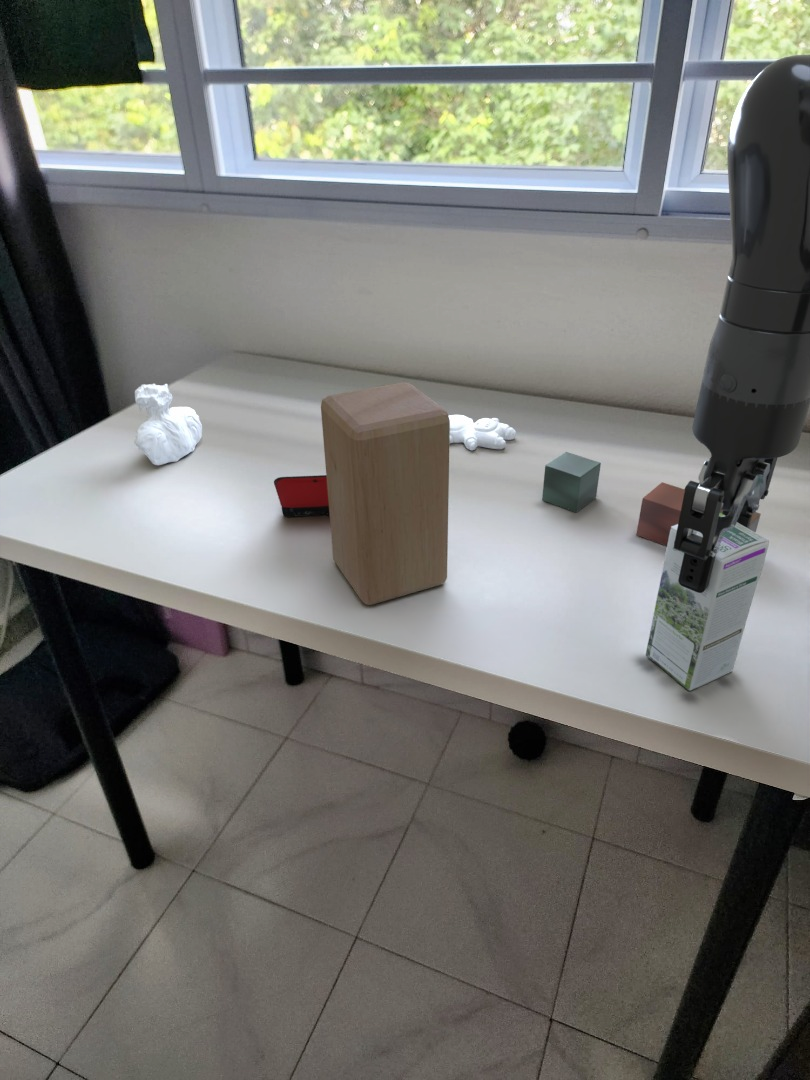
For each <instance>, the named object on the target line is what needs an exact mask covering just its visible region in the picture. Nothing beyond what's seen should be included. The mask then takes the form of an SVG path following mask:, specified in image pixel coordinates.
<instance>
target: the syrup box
mask: <svg viewBox="0 0 810 1080" xmlns="http://www.w3.org/2000/svg"><path fill="white" fill-rule="evenodd" d="M719 516H720V517H725V515H723V514H722V513H720V514H719ZM677 528H678V524H677V525H674V526H671V530H670V534H669V539H668V544H667V546H666V550H665V554H664V560H663V566H662V571H661V575H660V581H659V585H658V589H657V590H658V591H657V594H656V600H655V605H654V610H653V616H652V622H651V626H650V631H649V635H648V636H649V637H648V642H647V646H646V651H645V656H646V657H647V658H648V659H650V660H651V661H652V663H654V664H656V665H657V666H658V667H660V669H662V670H663V671H664V672H666V673H667V674H668V675H669V676H670V677H671V678H673V679H675V681H676V682H677V683H679V684H680V685H681V686H682V687H684V688H685V689H686V690H687V691H693V690H695V689H698V688H701V687H703V686H705V685H706V684H709V683H711V682H713V681H715V680H717V679H720V678H722V677H723V676H725V675H728V674H729V673H732V672H733V671H734V669H735V665H736V662H737V658H738V653H739V649H740V645H741V641H742V638H743V634H744V631H745V627H746V624H747V620H748V617H749V615H750V610H751V607H752V603H753V600H754V597H755V593H756V590H757V587H758V583H759V580H760V578H761V577H760V576H761V573H762V570H763V567H764V563H765V560H766V557H767V553H768V549H769V545H770V539H768V538H766V537H764V536H762V535H761V534H759V533H757V532H756V533H755V532H753V531H752V530H750V529H748V528H747V527H745V526H743V525H741V524H739V523H738V522H737V523H736V525H735V527H734V528H733V529H732V530H727V531H726V532H725V534H724V536H723V539H722V541H721V543H720V546H719V551H718V553H717V554H716V557H715V561H714V565H713V569H712V573H711V577H710V581H709V585H708V587H707V588H706V590H705V591H704V592H702V593H698V592H695V591H693V590H690V589H688V588H685V587H683V586H681V585H680V584H679V582H678V579H679V575H680V570H681V566H682V561H683V557H684V552H681V551H678V550H676V549H674V541H675V538H676V533H677ZM696 535H698V536H701V537H703V535H702V533H700V532H698V531H697V534H696Z"/></svg>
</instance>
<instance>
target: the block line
mask: <svg viewBox="0 0 810 1080" xmlns="http://www.w3.org/2000/svg"><path fill="white" fill-rule="evenodd" d="M601 465H602V463H601V462H600V461H596V460H593V459H590V458H586V457H584V456H581V455H578V454H575V453H572V452H569V451H565V452H563V453H562V454H560V455H558V456H557V457H556V458H554V459H552V460H551V461H549V462H548V463H546V464H545V466H544V475H543V485H542V486H543V487H542V495H541V496H542V497H541V500H542V501H544V502H546V503H549V504H552V505H554V506H557V507H560V508H562V509H565V510H567V511H571V512H574V513H578V512H579V511H580V510H582V509H583V508H584V507H586V506H587V505H588V504H590V503H591V502H592V501H594V500H595V499H596V498H597V494H598V487H599V481H600V480H599V479H600V472H601ZM684 492H685V488H681V487H679V486H675V485H673V484H669V483H667V482H663V481H662V482H660V483H659V484H658V485H656V487H654V488H653V489H652V490H651V491H649V492H648V493H647V494H646V495H645V496H643V497H642V500H641V506H640V513H639V516H638V523H637V528H636V533H635V535H636V536H637V537H641V538H643V539H646V540H649V541H652V542H654V543H658V544H660V545H661V546H665V547H667V544H668V539H669V534H670V530H671V526H674V525H677V524H678V523H679V518H680V512H681V507H682V502H683V497H684ZM720 513H723V510H720ZM750 514H751V515H752V518H751V521H750V525H749V529H750V530H752V531H753V532H755V533H757V529H758V525H759V521H760V518H761V516H762V515H761V514H762V513H760V512H757V511H756V512H755V513H754V514H752V513H750Z"/></svg>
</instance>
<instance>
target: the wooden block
mask: <svg viewBox="0 0 810 1080" xmlns="http://www.w3.org/2000/svg"><path fill="white" fill-rule="evenodd" d="M320 415H321V427H322V439H323V450H324V462H325V463H324V464H325V475H326V477H327V489H328V501H329V514H328V515H329V523H330V536H331V537H330V539H331V549H332V559H333V561H334V563H335V564H336V566H337V567H338V569H339V570H340V571H341V573H342V574H343V576H344V578H345V579H346V580H347V582H348V583H349V584H350V586H351V587H352V589H353V591H355V593H356V595H357V596H358V597H359V599H360V601H361V602H362V603H363V604H365V605H367V606H368V605H370V606H372V605H376V604H379V603H384V602H386V601H390V600H393V599H397V598H399V597H403V596H407V595H410V594H413V593H417V592H421V591H424V590H427V589H431V588H434V587H438V586H441V585H443V584H444V583H446V581H447V579H448V551H449V550H448V547H449V546H448V545H449V498H450V497H449V494H450V493H449V492H450V491H449V490H450V489H449V488H450V444H449V442H450V419H449V416H450V415H449V414H448V411H447V410H446V409H445V408H443V407H442V406H441V405H439V404H438V403H437V402H435V401H434V400H433V399H432V398H430V397H429V396H428V395H426V394H425V393H424V392H422V391H421V390H419V389H418V388H417V387H416V386H414V385H413V384H412V383H410V382H405V381H401V382H397V383H389V384H386V385H385V384H384V385H380V386H374V387H369V388H364V389H358V390H351V391H346V392H341V393H336V394H335V393H334V394H330V395H327V396H324V397H323V398H322V399H321V403H320Z"/></svg>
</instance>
